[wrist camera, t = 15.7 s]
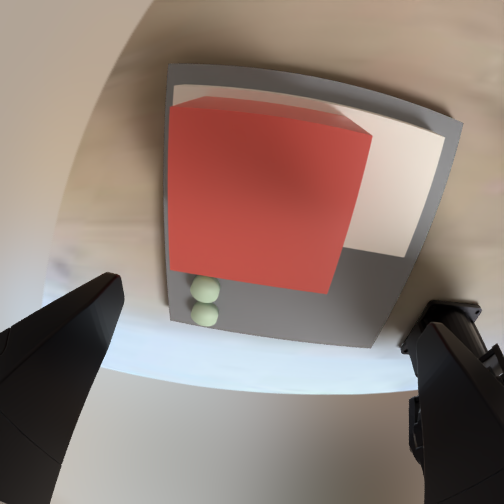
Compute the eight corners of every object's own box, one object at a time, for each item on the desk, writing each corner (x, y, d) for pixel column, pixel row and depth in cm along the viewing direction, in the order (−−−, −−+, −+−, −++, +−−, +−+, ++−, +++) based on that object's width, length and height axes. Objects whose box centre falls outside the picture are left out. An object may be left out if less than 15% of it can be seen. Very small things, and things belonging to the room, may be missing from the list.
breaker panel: (454, 119, 14) (477, 129, 12) (368, 338, 25) (373, 362, 22) (175, 64, 15) (157, 63, 12) (174, 310, 25) (164, 334, 23)
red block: (346, 116, 13) (372, 135, 9) (318, 237, 17) (327, 294, 13) (204, 96, 13) (169, 106, 9) (197, 219, 17) (170, 269, 13)
